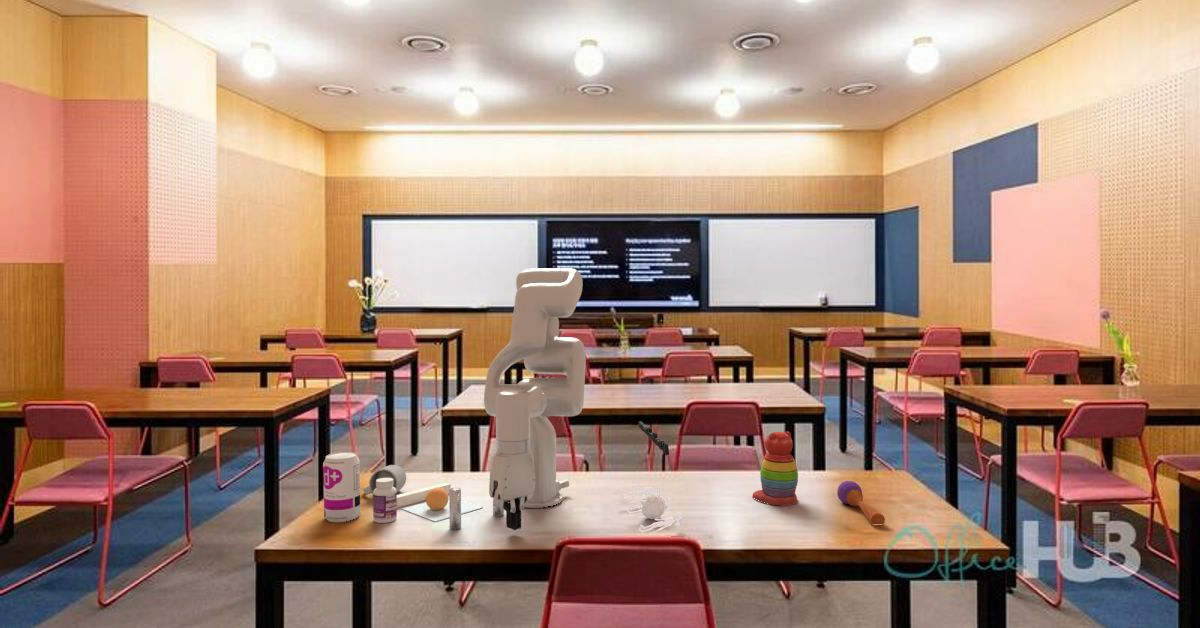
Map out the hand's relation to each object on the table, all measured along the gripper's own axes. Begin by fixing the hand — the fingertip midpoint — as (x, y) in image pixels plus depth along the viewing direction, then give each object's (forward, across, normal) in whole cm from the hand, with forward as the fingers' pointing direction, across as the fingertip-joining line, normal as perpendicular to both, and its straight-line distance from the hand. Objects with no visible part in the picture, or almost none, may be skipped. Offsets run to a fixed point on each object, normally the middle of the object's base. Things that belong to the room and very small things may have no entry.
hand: (513, 527), depth 163 cm
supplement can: (+2, +20, -39) cm, 44 cm away
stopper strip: (+2, 0, -37) cm, 37 cm away
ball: (-1, +1, -27) cm, 27 cm away
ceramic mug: (+2, +3, -49) cm, 49 cm away
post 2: (+2, -6, -13) cm, 15 cm away
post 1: (+2, +6, -13) cm, 15 cm away
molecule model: (+2, -29, +16) cm, 33 cm away
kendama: (+2, -67, +51) cm, 84 cm away
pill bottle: (+2, +14, -30) cm, 33 cm away
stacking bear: (+2, -62, +31) cm, 69 cm away
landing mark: (+2, 0, -27) cm, 27 cm away
